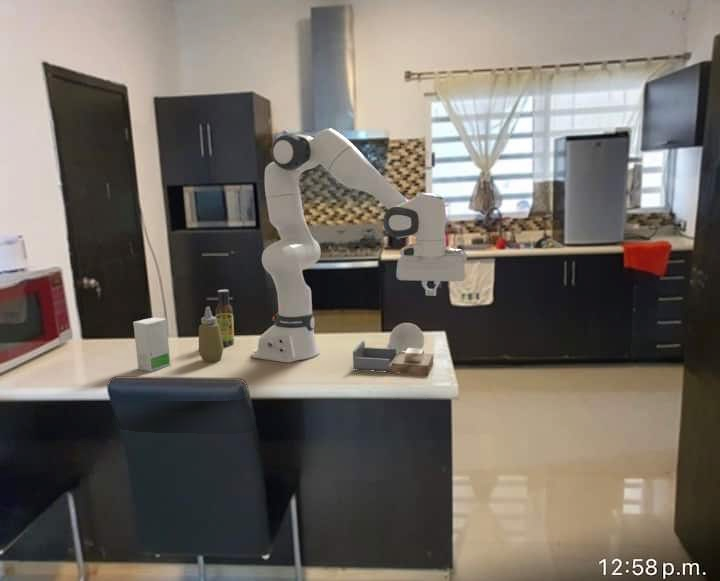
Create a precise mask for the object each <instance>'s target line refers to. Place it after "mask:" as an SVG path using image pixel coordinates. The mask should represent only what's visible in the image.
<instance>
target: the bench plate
mask: <svg viewBox="0 0 720 581" xmlns="http://www.w3.org/2000/svg"><path fill="white" fill-rule="evenodd" d="M433 364H434V354H433V353H424V357H423V359H422V361H421V362H418V361H405V352H399V353H398V354H397V356H396V357H395V359H394V360H393V362H392V372H400V373H399V374H403V373H410V374H409V375H418V376H419V375H420V376H428V375H429V374H430V372H431V370H432V367H433Z"/></svg>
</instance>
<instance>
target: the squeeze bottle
mask: <svg viewBox="0 0 720 581" xmlns="http://www.w3.org/2000/svg"><path fill="white" fill-rule="evenodd" d="M204 310H205V311H204V316H203V317H201V319H200V320H201V324H200V325H199V326H198V353H199V355H200V357H201V360H202V361H203V362H205V363H214V362H218V361H220V360H222V357H223V353H224V347H225V346H223V341H222V336H221V331H220V325H219V324H218V323H216V317H215V316H213V313H212V311H211V308H210V306H206V307H205V309H204Z"/></svg>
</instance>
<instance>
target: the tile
mask: <svg viewBox="0 0 720 581" xmlns="http://www.w3.org/2000/svg"><path fill="white" fill-rule="evenodd" d="M424 350H425V349H424V348H422V349H418V348H408V349H407V350H406V352H405V361H418V362H421V361H422V359H423V357H424V354H425V351H424Z"/></svg>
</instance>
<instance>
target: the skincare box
mask: <svg viewBox="0 0 720 581" xmlns="http://www.w3.org/2000/svg"><path fill="white" fill-rule="evenodd" d="M132 325H133V331H134V340H135V341H134V342H135V350H136V358H137V359H136V361H137V369H138V370H141V371H145V372H148V373H149V372H154V371H157V370H160V369H163V368H166V367H169V366H172V365H171V364H172V363H171V356H170V345H169V335H168V333H169V332H168V324H167V318H161V317H156V316H155V317H154V316H153V317H150V318H149V317H148V318H145V319H141V320H136V321H133V324H132Z"/></svg>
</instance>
